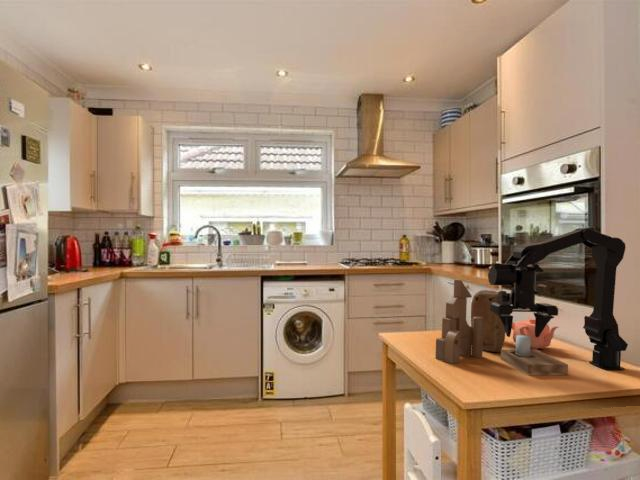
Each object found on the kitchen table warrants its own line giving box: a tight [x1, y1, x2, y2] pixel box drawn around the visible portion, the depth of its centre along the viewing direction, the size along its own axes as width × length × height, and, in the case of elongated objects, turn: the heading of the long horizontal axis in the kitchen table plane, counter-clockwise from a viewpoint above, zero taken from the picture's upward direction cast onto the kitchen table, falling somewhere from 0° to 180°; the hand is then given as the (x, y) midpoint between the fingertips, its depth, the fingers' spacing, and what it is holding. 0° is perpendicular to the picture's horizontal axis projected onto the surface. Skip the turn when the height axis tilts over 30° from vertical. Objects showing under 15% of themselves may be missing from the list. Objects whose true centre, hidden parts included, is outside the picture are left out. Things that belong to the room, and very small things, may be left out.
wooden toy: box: [435, 278, 484, 365], centre depth 123 cm, size 15×7×25 cm, turn 122°
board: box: [500, 349, 569, 376], centre depth 117 cm, size 12×14×3 cm
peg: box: [515, 335, 531, 357], centre depth 118 cm, size 4×4×8 cm
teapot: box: [511, 318, 559, 351], centre depth 138 cm, size 14×12×10 cm
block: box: [470, 289, 506, 353], centre depth 134 cm, size 11×8×20 cm
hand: (522, 336), depth 118 cm, fingers open, 9 cm apart
